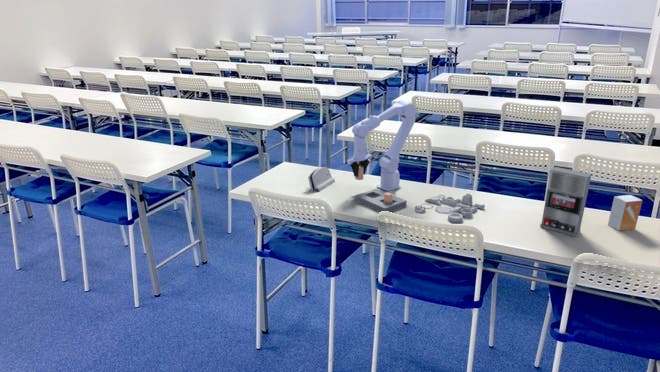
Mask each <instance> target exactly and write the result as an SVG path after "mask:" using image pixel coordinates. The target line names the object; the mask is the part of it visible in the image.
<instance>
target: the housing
mask: <svg viewBox="0 0 660 372" xmlns="http://www.w3.org/2000/svg"><path fill="white" fill-rule="evenodd" d="M384 193H387V191H386V192H385V190H384V191H383V190H382V189H380V188H379V189H378V188H374V189H370V190H367V191H365V192H364V191H363V192H361V193H357V194H356V195H354V201H356V202H358V203H360V204H362V205H364V206H367V207H369V208H372V209H374V210H376V211H378V212H380V211H390V212H392V211H396V210H399V209H401V208H404V207H406V206H407V200H406V199H404V198H401V197H398V196H396V195H394V194H393V201H392V204H389V205H388V204H385V203H384Z"/></svg>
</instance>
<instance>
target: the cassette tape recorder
mask: <svg viewBox="0 0 660 372" xmlns="http://www.w3.org/2000/svg"><path fill="white" fill-rule="evenodd" d="M591 178H592V173H587V172H583V171H578V170H572V169H568V168H562V167H558V166H554V167H552V169H550V173H549V178H548V185H547V190H546V196H545V202H544V206H543V207H544V208H543V213H542V219H541V223H540V225H539V227H540V228H542V227H543V228H542V229H548V230H551V231H556V232H559V233H562V234H566V235H570V236H573V237H577V236H578V235H579V234H580V233H581V230H582V229H581V226H582V222H583V216H584V213H585V207H586V201H587V199H588V198H587V197H588V193H589V188H590V182H591Z"/></svg>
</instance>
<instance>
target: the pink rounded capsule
mask: <svg viewBox="0 0 660 372" xmlns="http://www.w3.org/2000/svg"><path fill="white" fill-rule="evenodd" d="M363 171H364V167H363V166H359V170H358V177H355V176H354V179H355V180H357V181H362V180H364V175H363Z"/></svg>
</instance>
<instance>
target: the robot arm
mask: <svg viewBox="0 0 660 372" xmlns="http://www.w3.org/2000/svg"><path fill="white" fill-rule="evenodd" d="M416 113H417V108H416V106H415V105H414V104H413V103H411V102H406V101H404V100H402V99H401V100H398V101H397V102H395V103H393V104H392V105H391V106H390V107H388V108H387V109H385V110H384V111H383V112H381V113H380V114H378V115H370V116H368V118H367V119H365V120H362V121H360V122H359V123H356V124H354V126H353V127H352V129H351V132H352V134H353V155H352V157H351V158H348V159H347V160H346V161H347V162H346V164H347V165H350V167H351V170H352V172H353V177H354V178H355V177H358V170H359V166H363V167H364V171H363V176H364V175H366V172H367V168H368V166H369V165H370V163H371V162H370V160H372V159H373V158H372V157H373V155H372V154H369V153H368V154H367V152H366V151H367V150H366V147H367V136H368V135H369V133H370V132H371V131H374V130H375V129H377V128H378V127H380V125H381V123H383V122H385V121H386V120H388V119H390V118H391V117H392V118H393V116H399V117H400V119H401V124H400V127H399V128H398V130H397V132H396V134H395V137H394V139H393V140H392V143H391V145H390V147H389V148H388V150H387V151H386V152H384V154H383V155H382V157H380V158H379V160H378V165H379V166H380V184H379V185H376V188H377V189H378V188H379V189H380V190H382V191H383V190H384V191H386V192H390V191H392V190H395V189H398V188H400V187H401V185H400V180H401V179H400V171H399V170H398V168H399V163H400V153H401V151H402V150H403V147H404V145H405V143H406V142H407V140H408V137H409V135H410V133H411V131H412V129H413V127H414V124H415V120H416Z"/></svg>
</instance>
